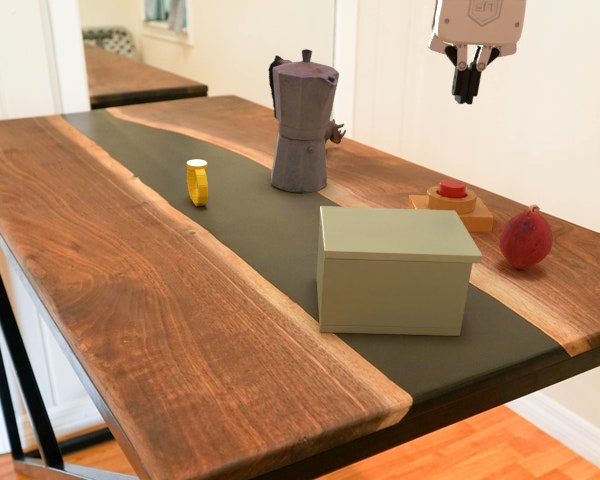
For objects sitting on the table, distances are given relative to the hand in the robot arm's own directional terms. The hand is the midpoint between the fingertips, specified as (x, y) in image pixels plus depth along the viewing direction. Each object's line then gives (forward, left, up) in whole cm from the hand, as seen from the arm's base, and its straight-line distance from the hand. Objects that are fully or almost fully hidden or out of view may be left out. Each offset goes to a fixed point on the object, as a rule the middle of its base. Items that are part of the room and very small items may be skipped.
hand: (463, 101), depth 83 cm
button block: (0, 0, -16) cm, 16 cm away
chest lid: (+11, +25, -8) cm, 29 cm away
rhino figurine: (+17, -32, -16) cm, 39 cm away
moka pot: (+21, -14, -16) cm, 30 cm away
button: (0, 0, -13) cm, 13 cm away
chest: (+12, +25, -16) cm, 32 cm away
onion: (-6, +15, -16) cm, 23 cm away
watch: (+35, -4, -16) cm, 38 cm away
